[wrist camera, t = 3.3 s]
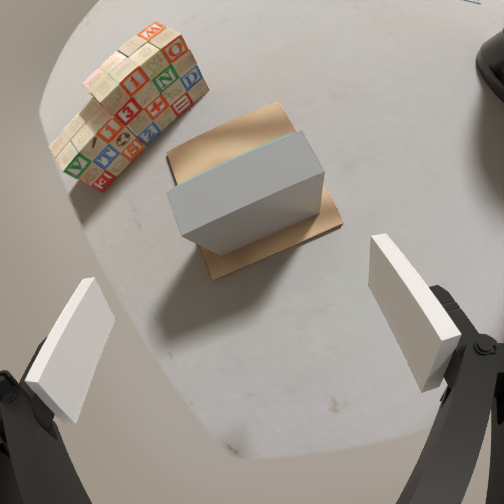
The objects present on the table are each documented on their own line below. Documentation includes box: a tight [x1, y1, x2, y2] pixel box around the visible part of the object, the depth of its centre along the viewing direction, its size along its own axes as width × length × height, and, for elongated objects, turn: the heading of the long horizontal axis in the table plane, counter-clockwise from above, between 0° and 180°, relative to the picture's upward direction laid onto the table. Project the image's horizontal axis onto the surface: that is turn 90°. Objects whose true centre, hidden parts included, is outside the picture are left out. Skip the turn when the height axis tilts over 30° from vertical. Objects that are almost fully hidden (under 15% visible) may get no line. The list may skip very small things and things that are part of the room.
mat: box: [167, 101, 344, 280], centre depth 37 cm, size 18×16×1 cm
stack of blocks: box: [49, 21, 209, 192], centre depth 35 cm, size 21×6×12 cm, turn 133°
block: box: [166, 130, 325, 256], centre depth 30 cm, size 4×12×12 cm, turn 112°
